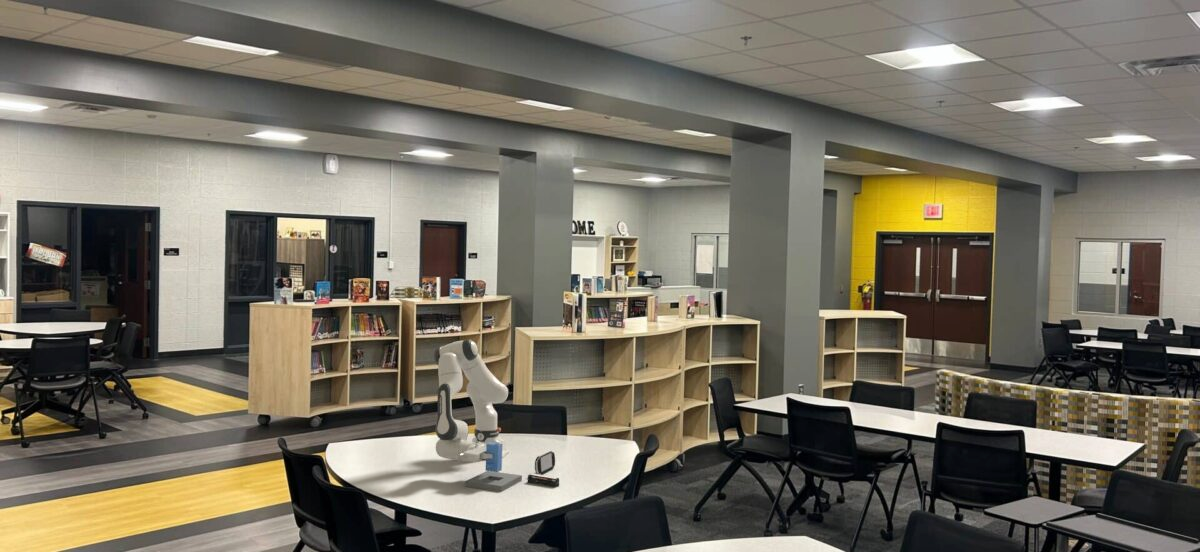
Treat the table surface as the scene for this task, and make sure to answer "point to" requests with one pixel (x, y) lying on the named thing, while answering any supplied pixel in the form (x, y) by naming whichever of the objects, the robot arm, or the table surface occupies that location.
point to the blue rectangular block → (496, 461)
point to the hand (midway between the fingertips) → (495, 455)
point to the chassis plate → (493, 481)
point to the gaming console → (545, 463)
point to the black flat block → (543, 480)
